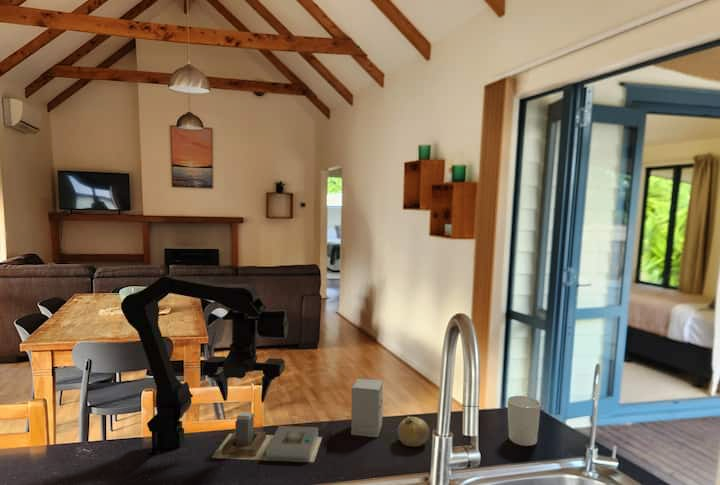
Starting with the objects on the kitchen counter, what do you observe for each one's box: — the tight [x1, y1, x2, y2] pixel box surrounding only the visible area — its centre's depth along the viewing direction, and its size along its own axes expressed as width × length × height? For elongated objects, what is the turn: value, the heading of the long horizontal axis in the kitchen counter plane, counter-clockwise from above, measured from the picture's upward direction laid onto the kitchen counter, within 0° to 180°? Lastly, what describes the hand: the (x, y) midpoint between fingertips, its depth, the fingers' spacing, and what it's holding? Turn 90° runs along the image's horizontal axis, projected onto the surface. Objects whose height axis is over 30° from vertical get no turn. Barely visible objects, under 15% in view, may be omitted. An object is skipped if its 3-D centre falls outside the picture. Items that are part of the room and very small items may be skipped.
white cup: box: [507, 395, 541, 447], centre depth 119 cm, size 8×8×10 cm
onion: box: [397, 415, 430, 448], centre depth 118 cm, size 8×8×7 cm
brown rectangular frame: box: [222, 430, 267, 456], centre depth 114 cm, size 8×9×2 cm
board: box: [210, 433, 323, 463], centre depth 113 cm, size 24×12×1 cm, turn 86°
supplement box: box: [350, 378, 384, 438], centre depth 124 cm, size 7×7×13 cm
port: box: [265, 425, 319, 463], centre depth 113 cm, size 10×12×3 cm
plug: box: [234, 411, 255, 446], centre depth 114 cm, size 3×4×8 cm, turn 176°
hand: (244, 401), depth 113 cm, fingers open, 9 cm apart
